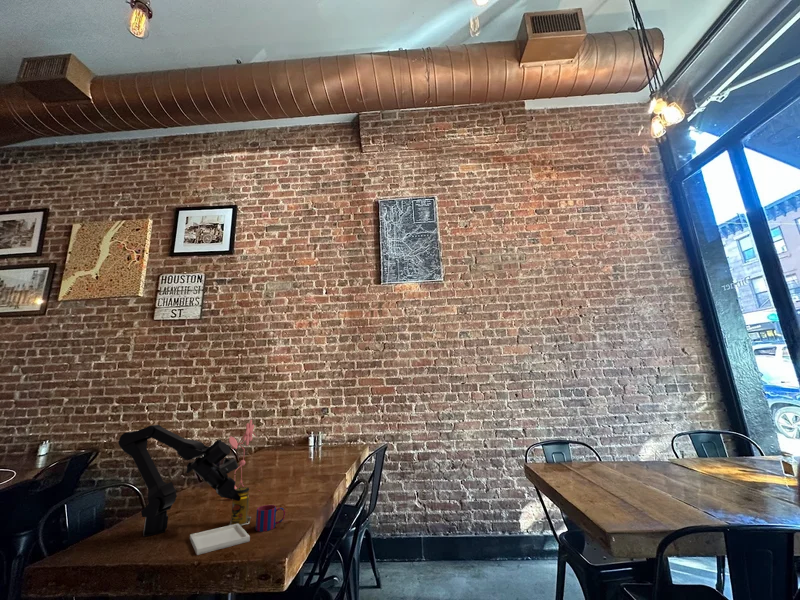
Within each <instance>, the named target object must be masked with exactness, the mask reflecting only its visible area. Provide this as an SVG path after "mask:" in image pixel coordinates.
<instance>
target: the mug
mask: <svg viewBox="0 0 800 600" xmlns="http://www.w3.org/2000/svg"><path fill="white" fill-rule="evenodd" d="M279 510H281V511H283V517H282V519H280V520H277V521H276V517H277V514H276V513H277V512H278V511H279ZM255 516H256V519H255V520H256V521H255V530H256V531H257V532H262V533H263V532H269V531H271V530H273V529H275V527H276V525H277V524H280V523H281V522H282V521H283V520H284V519H285V516H286V511H285V508H283V507H278V508H277V506H276V505H275V504H266V505H261V506H259V507H257V508H256V515H255Z"/></svg>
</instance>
